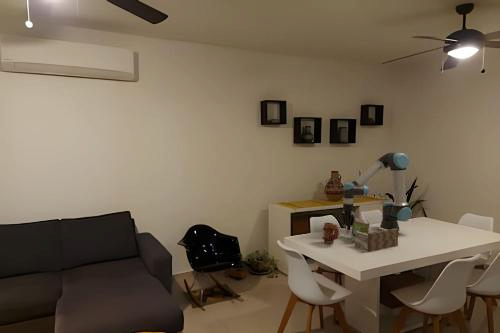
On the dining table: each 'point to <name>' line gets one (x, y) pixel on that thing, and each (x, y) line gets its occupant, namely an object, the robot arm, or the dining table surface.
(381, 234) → the patterned planter box
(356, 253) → the dining table surface
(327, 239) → the reddish-brown rounded piece
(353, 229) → the tea box
